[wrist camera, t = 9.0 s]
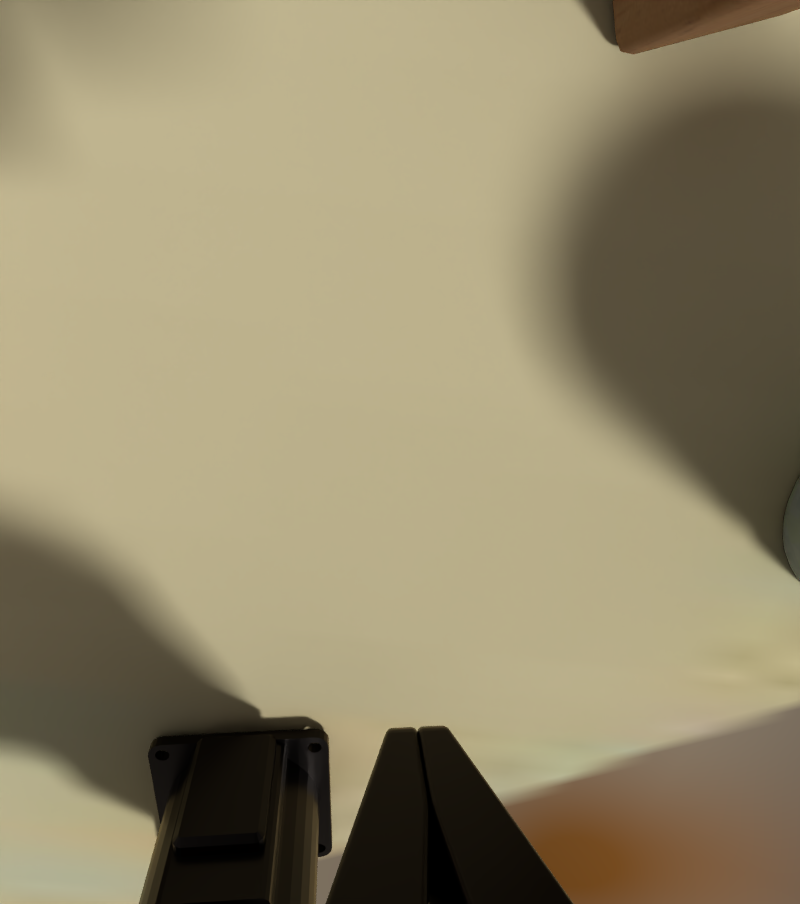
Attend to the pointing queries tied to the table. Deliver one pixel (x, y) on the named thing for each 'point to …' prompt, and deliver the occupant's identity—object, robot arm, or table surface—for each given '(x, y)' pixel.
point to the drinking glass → (793, 530)
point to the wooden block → (686, 19)
